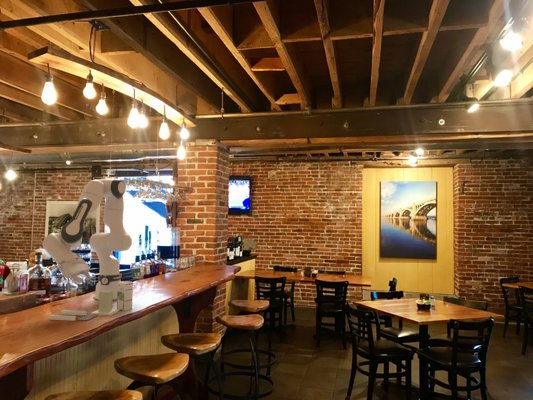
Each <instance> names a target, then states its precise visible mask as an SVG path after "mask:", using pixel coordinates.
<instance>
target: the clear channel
mask: <svg viewBox="0 0 533 400" xmlns="http://www.w3.org/2000/svg"><path fill="white" fill-rule="evenodd" d="M62 314H63V315H62ZM84 315H85V316H84ZM77 316H81V317H79V318H77ZM98 316H99V315H98V314H91V313H87V310H66V309H65V310H64V309H63V310H61V314H60V315H59V314H58V315H57V314H50V315H49V320H50V321H76V322H88V321H90V320H93V319H95V318H96V317H98Z"/></svg>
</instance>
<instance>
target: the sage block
mask: <svg viewBox="0 0 533 400" xmlns="http://www.w3.org/2000/svg"><path fill="white" fill-rule="evenodd" d="M113 304H114V303H113V290H102V291H100V292H99V300H98V309H97V310H98V312H109V311H111V310H112V309H113Z"/></svg>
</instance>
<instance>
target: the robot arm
mask: <svg viewBox="0 0 533 400" xmlns="http://www.w3.org/2000/svg"><path fill="white" fill-rule="evenodd" d="M126 189H127V188H126V183H125V182H124V180H123V179H120V178H101V179H91V180H89V181H88V182H87V184H85V187H84V188H83V189H82V191H81V193H80V195H79V198H78V200H77V207H76V209H75V211H74V213H73V215H72V217H71V218H70V220H68V221H67V223H65V224H64V225H63V226H62V228H61V229H60V232H59V233H49V234H48V235H46V236H45V237H44V239H43V240H42V242H41V243H42V248H43V250H45V252H46V253H47V254H48V255H49V256H50V257H51V258H53V260H54V262H55V263H56V264H57V266H58V270H59V271H60V273H61V275H63V277H65V279H70V278H72V279H73V280H74V281H75V282H77V283H78V284H80V283H83V281H84V280H83V279H82V278H81V277H80V276H81V275H83V276H85V279H86V281H87V280H89V281H90V280H91V279H92V276H91V275H90V272H89V271H90V269H91V268H90V266H89V264H87V262H86V261H85V260H84V259H83V258H82V255H81V254H78V253H75V252H73V251H74V250H75V249H77V248H79V247H80V245H82V242H83V234H84V224H85V222H86V219H87V217H88V215H89V213H94V212H96V211H97V209H98V208H99V206H100V204H101V202H102V199H103V198H105V202H104V203H105V204H104V208H103V218H102V221H103V224H104V225H105V226H106V227H108V228H109V231H110V232H98V233H93V234H92V235H91V236H90V238H89V246H90V248H91V249H92V250H93V251H94V252H95V253H96V255H97V258H98V261H99V274H98V282H97V283H96V285H95V293H94V295H93V296H92V298H93V299H95V300H98V301H99V292H100V291H102V290H113V300H117V291H118V282H121V281H122V280H121V278H122V277H123V275H122V273H120V266H121V265H120V260H119V259H118V258H117V257H115V256H114V254H113V252H126V251H128V250H130V248H131V246H132V243H133V240H132V237H131V236H130V235H129V234H128V233H127V231H126V229H125V227H124V209H125V208H124V207H125V206H124V205H125V204H124V203H125V202H124V194H125V193H126Z"/></svg>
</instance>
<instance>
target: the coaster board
mask: <svg viewBox="0 0 533 400" xmlns="http://www.w3.org/2000/svg"><path fill="white" fill-rule="evenodd" d="M118 312H120V310H119V309H117V308H112V310H111V311H109V312H98V309H97V310H94V311H93V312H91V313H90V314H98V316H110V317H111V316H113V315H115V314H117V313H118Z"/></svg>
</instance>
